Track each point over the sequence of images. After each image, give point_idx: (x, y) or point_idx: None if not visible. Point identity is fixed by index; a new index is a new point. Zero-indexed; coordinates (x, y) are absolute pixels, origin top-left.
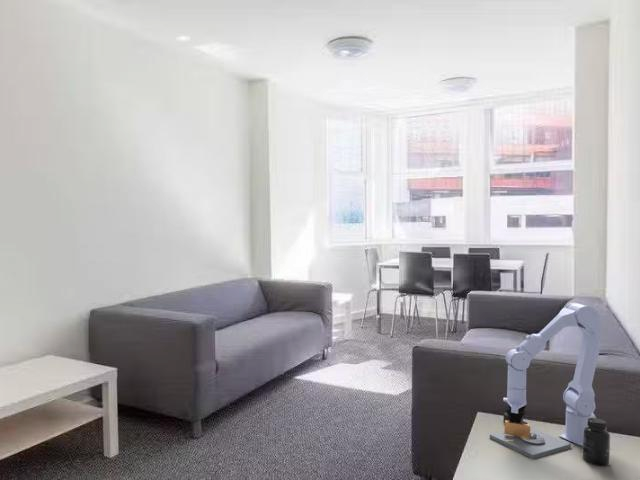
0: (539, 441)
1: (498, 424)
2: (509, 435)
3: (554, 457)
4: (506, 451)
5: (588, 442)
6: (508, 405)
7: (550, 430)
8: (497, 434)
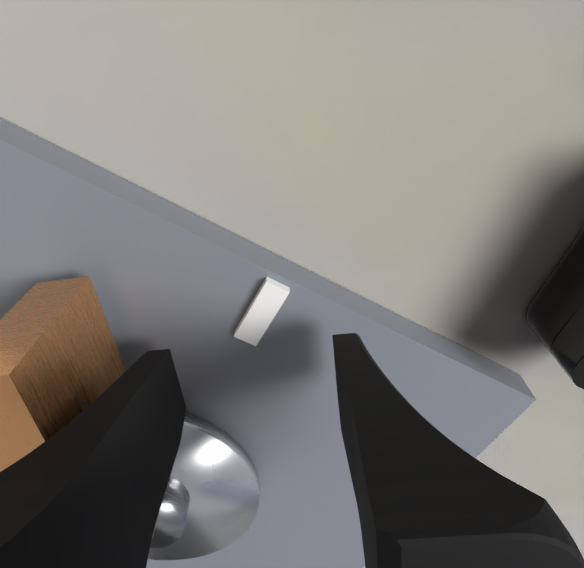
0: None
1: (532, 90)
2: (111, 311)
3: None
4: None
5: None
6: (376, 516)
7: (573, 509)
8: (24, 195)
